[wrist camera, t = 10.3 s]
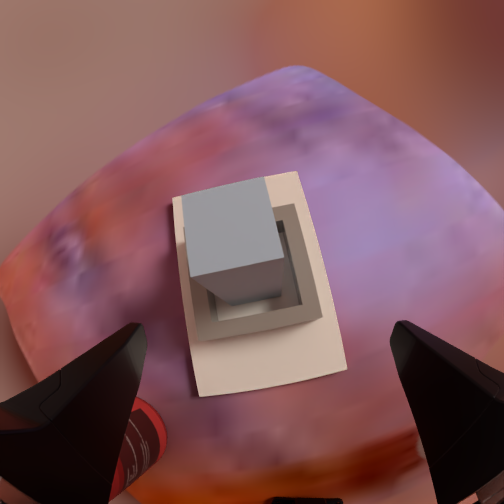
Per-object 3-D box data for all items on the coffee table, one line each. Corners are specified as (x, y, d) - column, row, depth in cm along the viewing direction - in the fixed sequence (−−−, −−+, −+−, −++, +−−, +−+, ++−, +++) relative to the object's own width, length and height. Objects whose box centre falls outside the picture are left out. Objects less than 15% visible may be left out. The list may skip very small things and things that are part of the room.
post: (281, 295, 22) (284, 257, 11) (231, 306, 22) (190, 276, 12) (270, 249, 23) (263, 176, 13) (223, 259, 23) (181, 195, 13)
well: (344, 368, 20) (356, 373, 17) (201, 394, 21) (189, 403, 18) (296, 175, 26) (298, 154, 23) (175, 201, 26) (162, 184, 23)
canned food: (87, 419, 20) (10, 440, 10) (127, 374, 22) (43, 386, 11) (139, 475, 18) (76, 523, 8) (186, 436, 20) (127, 490, 9)
